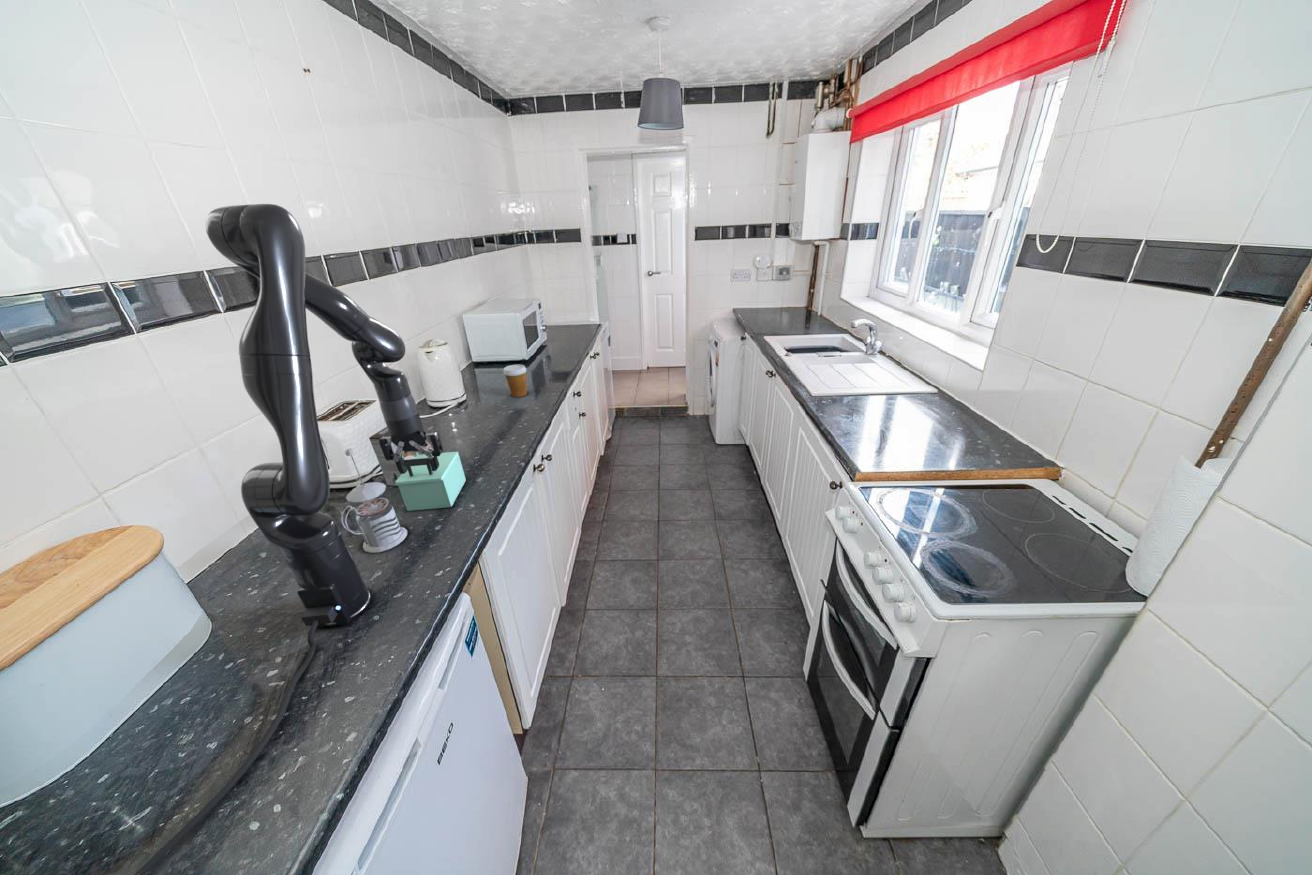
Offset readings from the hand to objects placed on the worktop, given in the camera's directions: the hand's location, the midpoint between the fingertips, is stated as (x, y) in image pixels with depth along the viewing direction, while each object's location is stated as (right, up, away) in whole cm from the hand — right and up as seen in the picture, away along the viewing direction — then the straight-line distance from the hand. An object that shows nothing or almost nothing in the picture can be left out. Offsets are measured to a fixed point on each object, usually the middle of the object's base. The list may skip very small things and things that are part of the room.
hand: (420, 470), depth 118 cm
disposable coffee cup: (+2, +27, +78) cm, 82 cm away
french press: (-5, -17, -8) cm, 19 cm away
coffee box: (-14, -4, +19) cm, 23 cm away
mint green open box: (0, -7, +9) cm, 12 cm away
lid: (0, 0, +5) cm, 5 cm away
